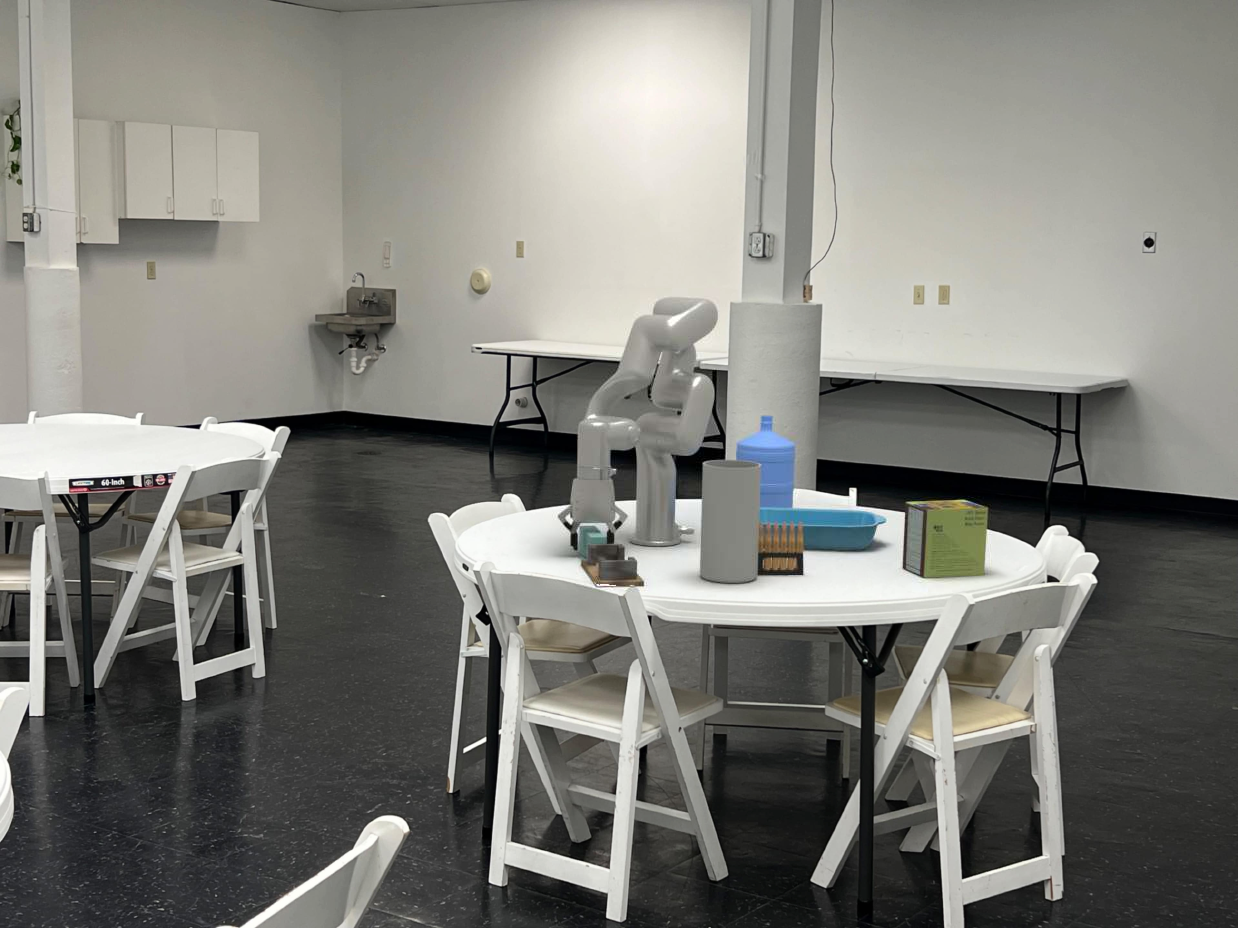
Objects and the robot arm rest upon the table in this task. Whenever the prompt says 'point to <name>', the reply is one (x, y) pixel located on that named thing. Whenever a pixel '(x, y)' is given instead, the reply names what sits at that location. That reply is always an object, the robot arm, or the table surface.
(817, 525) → the casserole dish
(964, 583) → the table surface
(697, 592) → the table surface
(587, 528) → the teal long block
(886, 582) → the table surface
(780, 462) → the water jug
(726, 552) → the cylinder vase
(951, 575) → the protein box
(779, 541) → the ammunition clip
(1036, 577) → the table surface
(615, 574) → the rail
